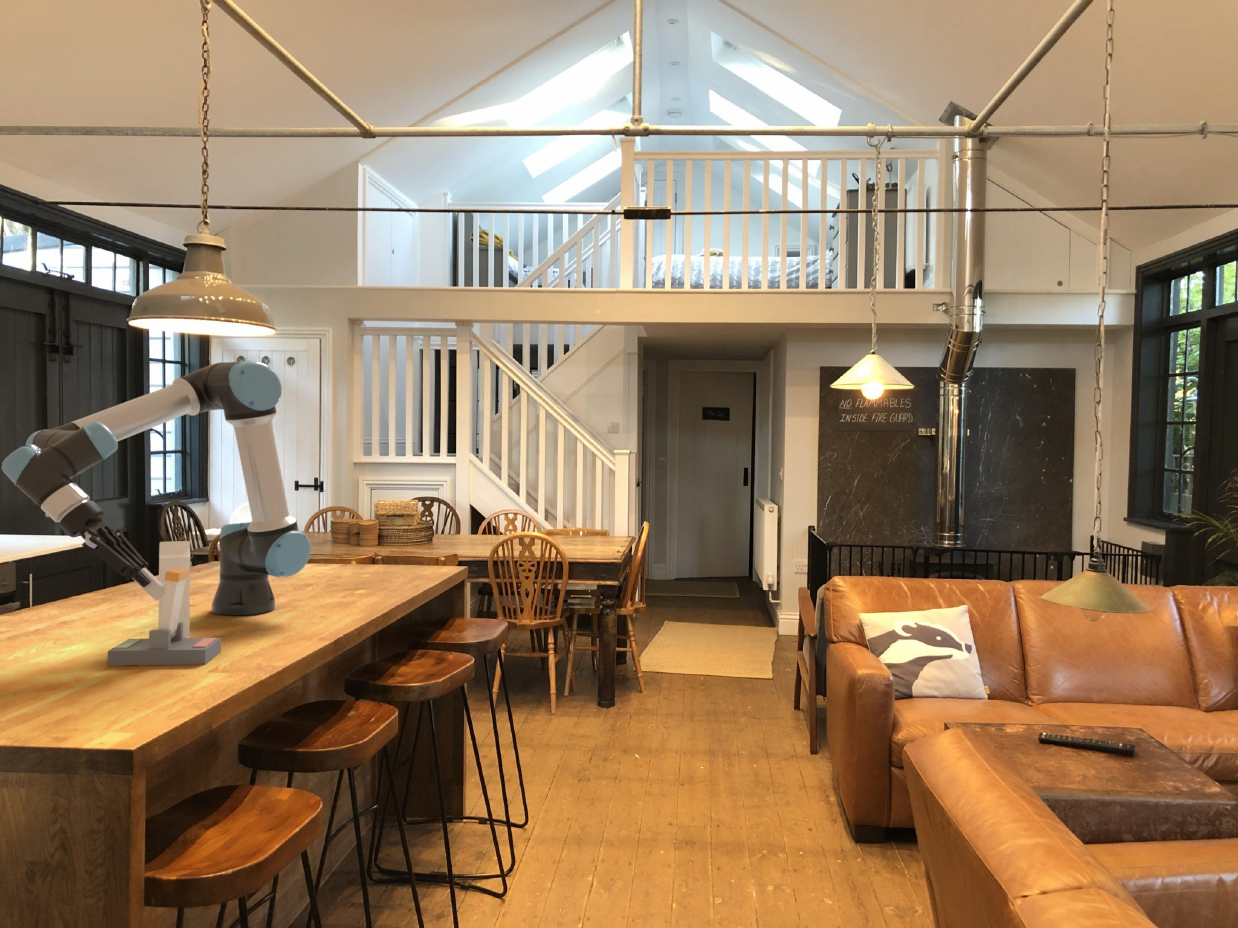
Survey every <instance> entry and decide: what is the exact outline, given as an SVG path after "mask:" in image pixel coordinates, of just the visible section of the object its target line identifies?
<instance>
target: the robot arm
mask: <svg viewBox="0 0 1238 928" xmlns="http://www.w3.org/2000/svg"><path fill="white" fill-rule="evenodd" d="M282 388H283V387H282V383H281V380H280V378H279V375H278V374H277V372H276V371H275V370H274V369H273V368H272V367H270V365H267V364H265V363H263V362H260V361H252V360H240V361H229V362H228V361H227V362H222V361H221V362H216V363H213V364H210V365H206V366H205V367H202V368H199V369H197V370H195V371H192V372H191V373H188V374H185V375H182V376H181V377H177V378H175V379H174V380H173V381H172V383H171V385H169V386H165V387H163V388H161V389H158V390H155V391H152V392H149V393H147V394H143V395H142V396H138V397H136V398H133V399H130V400H127V401H125V402H123V403H119V404H117V405H114V406H111V407H108V408H106V409H103V410H101V411H97V412H95V413H92V414H90V415H87V416H84V417H82V418H78V419H76V420H73V421H71V422H68V423H64V424H63V425H59V426H57V427H53V428H52V429H51V428H50V429H49V428H47V429H41V430H37V431H35V432H33V433H32V434H30V435H29V437H27V440H26V442H25V445H24V446H21V447H19V448H17V449H16V450H14V451H12V452H11V453H10V454H9V455H8V456H6V457H5V459H4V460H3V461H2V463H1V470H2V472H3V473H4V474H5V475H6V477H8V479H9V480H10V481H11V483H13V484H14V486H15V487H17V488H18V489H20V490H21V492H23V493H24V494H25V495H26V496H27V497H28V498H30V500H32V501H33V502H34V503H35V504H36V505H37V506H38V507H39V508H40V509H41V510H42V511H43V512H44V513H45V514H44V515H45V517H47V518H51V519H52V520H53V521H54V523H58V524H59V525H58V526H59V527H60V529H62V531H64V532H65V534H67V536H69V537H71V538H77V537H80V536H81V538H82V539H83V540H84V542H83V543H82V544H81V547H83V548H84V549H86V550H87V551H89V552H91V553H92V554H93V555H95V556H96V557H97V558H99V559H100V560H101V561H103V562H104V563H105V564H106V565H108V566H109V567H110V568H111V569H113V570H114V571H115V572H116V573H118V574H119V575H120V576H121V577H123V578H124V580H126V581H129V580H130V579H132V580H133V581H134V582H135V583H136V584H137V585H138V586H139V587H141V589H143V591H145V592H146V594H148V595H149V596H150V597H151V598H152V599H153V600H154V601H155V602H156V601H159V599H160V598H161V597H162V596H163V595H164V592H165V586H164V585H163V584H162V583H161V582H160V581H159V578H156V576H154V574H153V573H151V572H150V571H149V570H148V568H147V566H149V563H148V562H147V561H146V560H145V559H144V558H143V556H142V555H141V554H140V553H139V552H138V551H137V550H136V548H135V546H133V545H132V544H131V542H130V541H129V540H128V539H127V537H125V535H124V533H123V531H122V530H120V529H116V530H115V531H114V529H113V528H112V527H111V526H110V525H108V524H106V523H105V522H103V520H102V519H103V518H104V517H105V514H106V513H105V511H104V509H102V507H100V506H99V504H97V503H96V502H95V501H94V500H90V499H91V498H90V495H88V493H86V492H85V491H84V490H83V489H82V488H81V487H80V486H79V485H78V484H77V483H75V481H74V480H72V479H73V478H75V477H77V476H79V475H81V474H82V473H84V472H85V471H86V470H88V469H90V468H92V467H93V466H95V465H97V464H98V463H101V462H102V461H103V460H104V461H105V460H106V459H108V457H110V456H111V455H113V454H115V452H116V451H117V450H118V448H119V447H118V446H119V444H118V442H119V441H122V440H124V439H127V438H130V437H132V436H134V435H137V434H140V433H142V432H145V431H147V430H150V429H152V428H156V427H158V426H160V425H163V424H164V423H167V422H170V421H172V420H175V419H177V418H180V417H182V416H185V415H189V416H194V417H195V416H196V415H199V414H202V413H204V412H209V411H219V410H220V411H221V410H223V414H224V421H225V422H226V423H228V424H229V425H231V426H233V430H234V434H235V439H236V444H237V449H238V453H239V454H238V455H239V460H240V465H241V470H242V475H243V480H244V485H245V490H246V495H247V499H248V506H249V511H250V516H251V522H239V523H237V522H236V523H235V522H234V523H227V524H224V525H223V526H221V529H220V533H219V583H218V586H217V588H216V591H215V594H214V596H213V599H212V601H211V613H213V614H216V615H221V616H247V615H248V616H249V615H257V614H262V613H267V612H268V613H269V612H272V611H274V610H275V609H276V599H275V596H274V593H273V589H272V586H271V584H270V582H269V580H270V579H269V576H271V577H275V578H281V577H282V578H289V577H292V576H295V575H297V574H299V573H300V572H301V571H302V570H303V569H304V568H305V567H306V564H307V563H308V562H309V560H310V557H311V553H312V549H311V548H312V547H311V541H310V539H309V538H308V536H307V535H305V534H304V533H303V532H301V531H299V527H298V526H299V525H298V522H297V518H296V517H295V516H293V515H291V514H290V512H289V508H288V502H287V497H286V492H285V488H284V487H285V486H284V482H283V475H282V470H281V465H280V461H279V454H278V450H277V445H276V438H275V433H274V427H273V422H272V421H273V420H274V418H275V417H276V415H277V414H278V413H277V407H276V405H278V403H279V401H280V400H279V399H280V398H281V397H282V390H283V389H282Z"/></svg>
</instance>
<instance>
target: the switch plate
mask: <svg viewBox="0 0 1238 928" xmlns="http://www.w3.org/2000/svg"><path fill="white" fill-rule="evenodd" d="M221 652H222V638H221V637H189V638H183V622H178V626H177V635H176V636H175V637H174V638H172V639H171V630H158V629H151V630H149V631H148V638H128V639H126V640H125V641H123V642H121V643H119V644H117V645H115V646H114V647H112V648H111V649H108V650H107V667H124V665H125V667H126V665H129V666H130V665H140V666H178V665H179V666H185V665H186V666H187V665H188V666H191V665H206V664H208V663H209V662H210V661H212V659H214V658H215V657H216V656H218V655H219V654H220V653H221ZM129 666H128V667H129Z"/></svg>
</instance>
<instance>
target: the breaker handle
mask: <svg viewBox="0 0 1238 928" xmlns="http://www.w3.org/2000/svg"><path fill="white" fill-rule="evenodd" d="M188 575H189V569H186V568H179V567H175V568H173V569H170V570H168V571H166V574H165V580H167V581H166V587H165V592H164V598H163V604H162V609H161V615H160V621H159V620H158V625H159V627H158V626H157V627H158V628H157V630H171V639H172V638H174V637H175V636H176V635H177V626H178V620H179V614H180V609H181V603H182V597H183V591H184V586H185V580H186V578H188Z"/></svg>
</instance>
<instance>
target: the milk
mask: <svg viewBox="0 0 1238 928" xmlns="http://www.w3.org/2000/svg"><path fill="white" fill-rule="evenodd" d="M158 548H159V550H158V551H159V552H158V553H159V554H158V559H159V561H158V563H159V564H158V565H159V566H158V580H159V581H160V582H161V583H162V584H163V585H164V586H165V587H166V581H167V580H165V574H166V571H168V570H170V569H173V568H175V567H179V568H186V569H189V575H188V578H186V580H185V586H184V591H183V597H182V603H181V609H180V614H179V620H178V622H183V638H190V617H191V616H190V615H191V614H190V613H191V611H190V610H191V607H190V606H191V604H190V603H191V601H190V600H191V594H190V593H191V590H190V589H191V542H190V541H189V540H185V541H184V540H183V541H182V540H180V541H176V540H174V541H160V542H159V547H158ZM163 598H164V595H163V596H162V597H161V598H160V599H158V622H159V621H160V615H161V609H162V604H163ZM157 627H159V624H158V625H157Z"/></svg>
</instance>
